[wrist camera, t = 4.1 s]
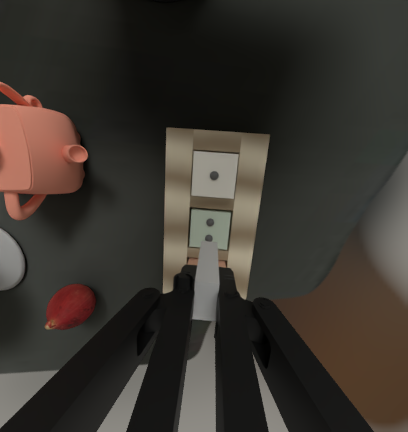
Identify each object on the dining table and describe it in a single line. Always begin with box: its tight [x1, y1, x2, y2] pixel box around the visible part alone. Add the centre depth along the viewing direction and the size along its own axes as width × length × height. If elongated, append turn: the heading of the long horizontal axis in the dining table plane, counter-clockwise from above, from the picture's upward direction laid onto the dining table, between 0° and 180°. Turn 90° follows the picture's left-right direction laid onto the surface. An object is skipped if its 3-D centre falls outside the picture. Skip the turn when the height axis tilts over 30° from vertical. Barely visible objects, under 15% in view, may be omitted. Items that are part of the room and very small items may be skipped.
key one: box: [191, 151, 239, 199], centre depth 23 cm, size 5×5×3 cm
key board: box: [163, 127, 270, 300], centre depth 26 cm, size 24×12×3 cm, turn 176°
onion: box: [45, 284, 96, 330], centre depth 28 cm, size 6×6×8 cm
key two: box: [189, 207, 231, 250], centre depth 26 cm, size 5×5×3 cm
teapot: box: [0, 82, 88, 220], centre depth 22 cm, size 12×12×10 cm
